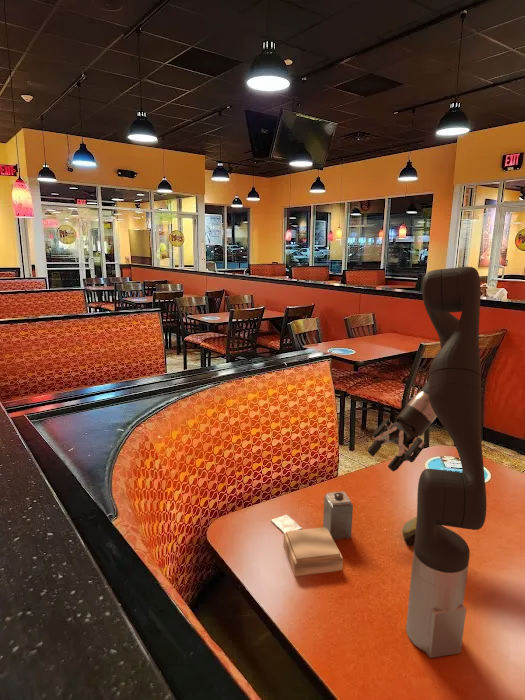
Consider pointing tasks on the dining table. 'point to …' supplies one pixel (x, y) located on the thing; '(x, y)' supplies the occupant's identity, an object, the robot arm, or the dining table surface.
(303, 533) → the stand
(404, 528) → the claw
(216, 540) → the dining table surface
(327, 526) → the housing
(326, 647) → the dining table surface
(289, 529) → the cover plate
